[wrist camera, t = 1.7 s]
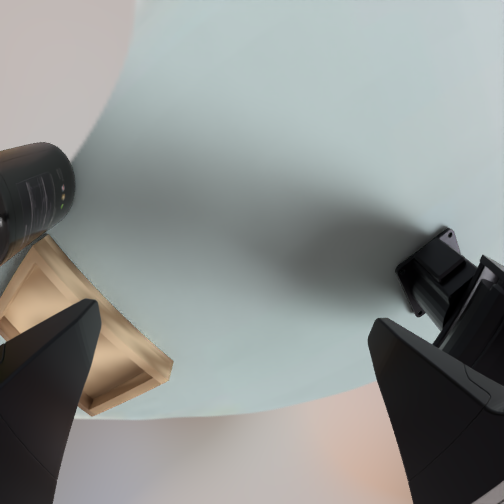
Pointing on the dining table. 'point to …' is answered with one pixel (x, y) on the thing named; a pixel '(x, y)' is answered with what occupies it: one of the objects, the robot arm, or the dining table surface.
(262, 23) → the dining table surface
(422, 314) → the robot arm
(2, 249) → the supplement bottle
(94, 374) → the oak tray
